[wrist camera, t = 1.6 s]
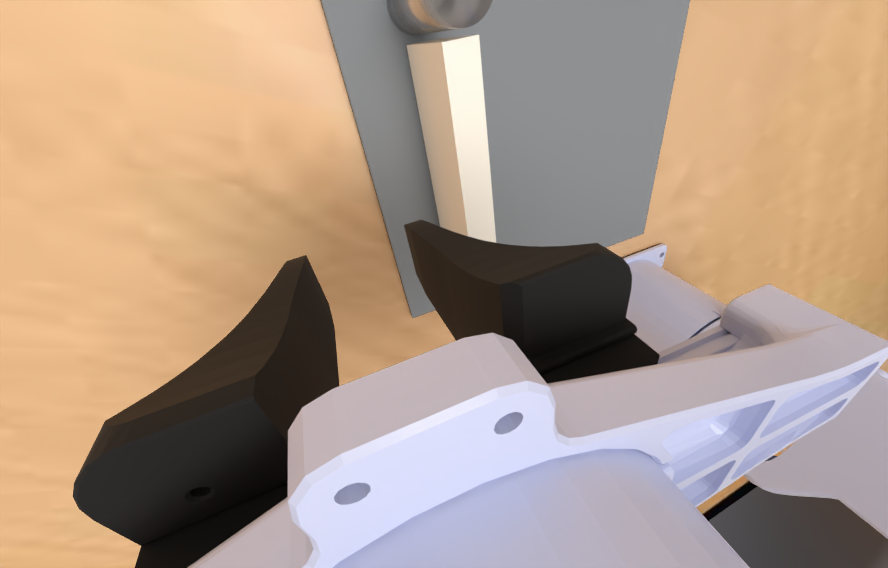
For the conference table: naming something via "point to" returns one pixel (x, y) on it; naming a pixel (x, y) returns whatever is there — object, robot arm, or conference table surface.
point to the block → (455, 132)
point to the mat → (524, 116)
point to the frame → (436, 14)
